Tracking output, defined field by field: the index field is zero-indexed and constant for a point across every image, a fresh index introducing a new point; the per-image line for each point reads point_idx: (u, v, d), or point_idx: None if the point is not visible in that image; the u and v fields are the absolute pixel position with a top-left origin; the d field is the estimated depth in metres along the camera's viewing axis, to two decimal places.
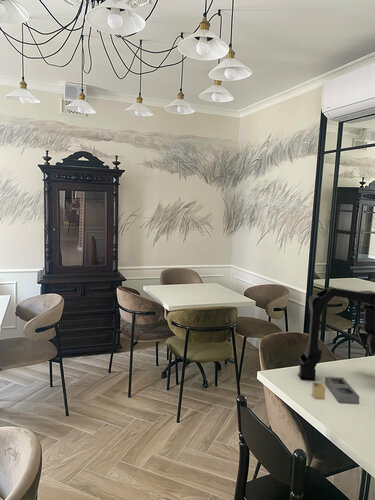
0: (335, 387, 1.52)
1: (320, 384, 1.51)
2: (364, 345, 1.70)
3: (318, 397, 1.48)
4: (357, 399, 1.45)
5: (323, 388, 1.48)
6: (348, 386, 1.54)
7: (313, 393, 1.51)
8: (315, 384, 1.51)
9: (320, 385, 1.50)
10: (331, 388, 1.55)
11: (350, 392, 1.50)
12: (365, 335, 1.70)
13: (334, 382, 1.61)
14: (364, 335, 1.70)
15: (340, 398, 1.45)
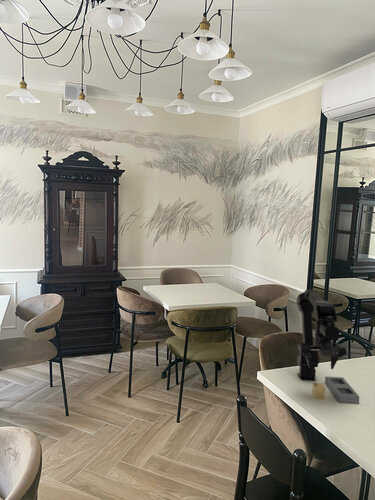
0: (335, 387, 1.52)
1: (320, 384, 1.51)
2: (331, 366, 1.49)
3: (318, 397, 1.48)
4: (357, 399, 1.45)
5: (323, 388, 1.48)
6: (348, 386, 1.54)
7: (313, 393, 1.51)
8: (315, 384, 1.51)
9: (320, 385, 1.50)
10: (331, 388, 1.55)
11: (350, 392, 1.50)
12: (333, 355, 1.49)
13: (334, 382, 1.61)
14: None
15: (340, 398, 1.45)
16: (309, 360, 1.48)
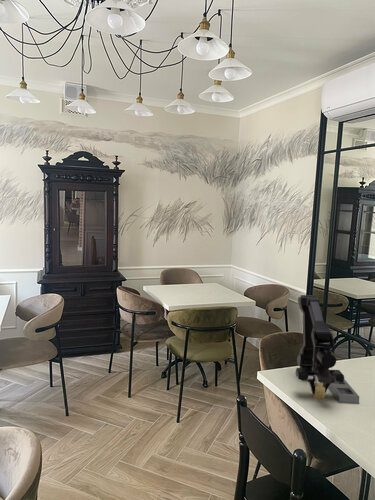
0: (335, 387, 1.52)
1: (320, 384, 1.51)
2: None
3: (318, 397, 1.48)
4: (357, 399, 1.45)
5: (323, 388, 1.48)
6: (348, 386, 1.54)
7: None
8: (315, 384, 1.51)
9: (320, 385, 1.50)
10: (331, 388, 1.55)
11: (350, 392, 1.50)
12: None
13: (334, 382, 1.61)
14: None
15: (340, 398, 1.45)
16: (312, 386, 1.49)
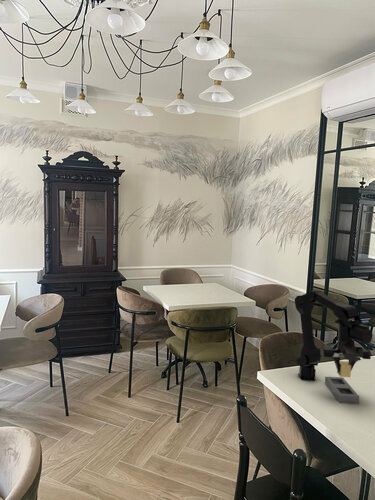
0: (335, 387, 1.52)
1: (345, 362, 1.49)
2: None
3: (344, 375, 1.47)
4: (357, 399, 1.45)
5: (349, 366, 1.46)
6: (348, 386, 1.54)
7: None
8: (340, 362, 1.49)
9: (345, 363, 1.48)
10: (331, 388, 1.55)
11: (350, 392, 1.50)
12: (351, 359, 1.48)
13: (334, 382, 1.61)
14: (350, 358, 1.48)
15: (340, 398, 1.45)
16: (338, 364, 1.47)
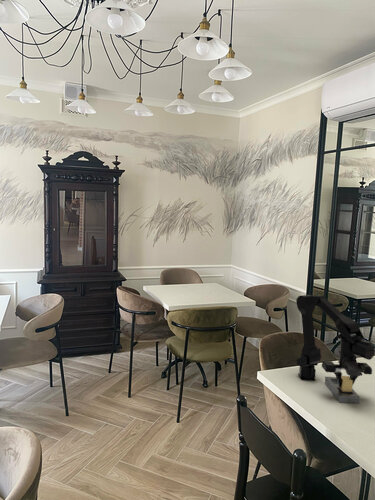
0: (335, 387, 1.52)
1: (347, 377, 1.50)
2: None
3: (345, 390, 1.47)
4: (357, 399, 1.45)
5: (350, 381, 1.47)
6: None
7: None
8: (342, 377, 1.50)
9: (347, 378, 1.49)
10: (331, 388, 1.55)
11: (350, 392, 1.50)
12: None
13: (334, 382, 1.61)
14: None
15: (340, 398, 1.45)
16: (339, 379, 1.48)
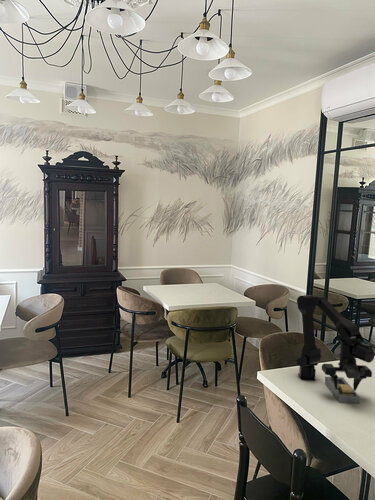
0: None
1: (346, 385, 1.50)
2: (354, 387, 1.49)
3: None
4: (357, 399, 1.45)
5: (350, 389, 1.47)
6: None
7: None
8: (341, 385, 1.50)
9: (346, 386, 1.49)
10: (331, 388, 1.55)
11: None
12: None
13: None
14: None
15: (340, 398, 1.45)
16: (335, 381, 1.48)
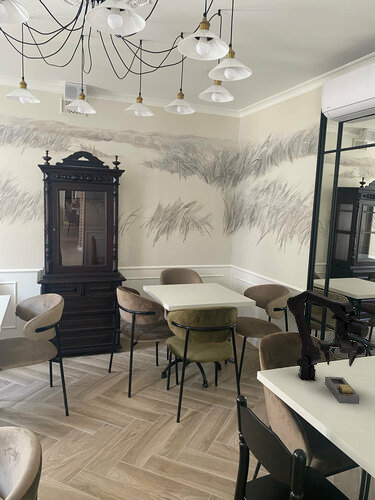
0: (335, 387, 1.52)
1: (346, 385, 1.50)
2: (349, 363, 1.54)
3: None
4: (357, 399, 1.45)
5: (350, 389, 1.47)
6: None
7: None
8: (341, 385, 1.50)
9: (346, 386, 1.49)
10: (331, 388, 1.55)
11: None
12: (352, 353, 1.53)
13: (334, 382, 1.61)
14: (351, 353, 1.54)
15: (340, 398, 1.45)
16: (328, 357, 1.53)
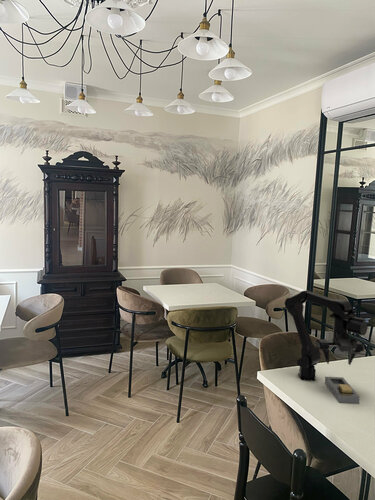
0: (335, 387, 1.52)
1: (346, 385, 1.50)
2: (348, 361, 1.55)
3: None
4: (357, 399, 1.45)
5: (350, 389, 1.47)
6: None
7: None
8: (341, 385, 1.50)
9: (346, 386, 1.49)
10: (331, 388, 1.55)
11: None
12: (351, 351, 1.54)
13: (334, 382, 1.61)
14: (350, 351, 1.55)
15: (340, 398, 1.45)
16: (327, 356, 1.54)
